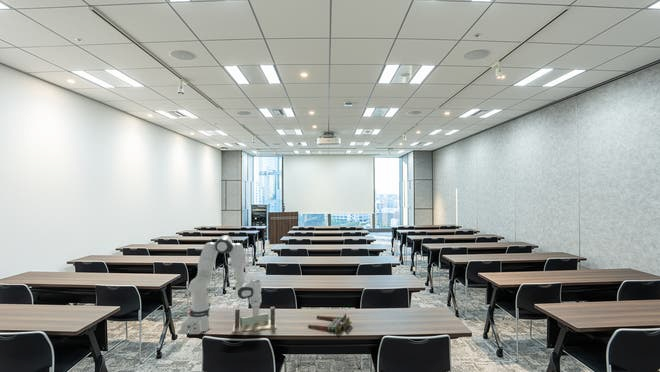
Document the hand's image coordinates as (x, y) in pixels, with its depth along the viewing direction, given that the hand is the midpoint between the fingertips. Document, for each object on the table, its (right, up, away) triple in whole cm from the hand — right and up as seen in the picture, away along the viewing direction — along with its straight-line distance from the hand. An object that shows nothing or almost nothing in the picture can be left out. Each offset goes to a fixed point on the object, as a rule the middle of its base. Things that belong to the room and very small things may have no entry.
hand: (255, 318), depth 240 cm
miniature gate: (+58, -5, -3) cm, 58 cm away
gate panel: (0, -2, -3) cm, 4 cm away
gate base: (+1, -3, -6) cm, 7 cm away
